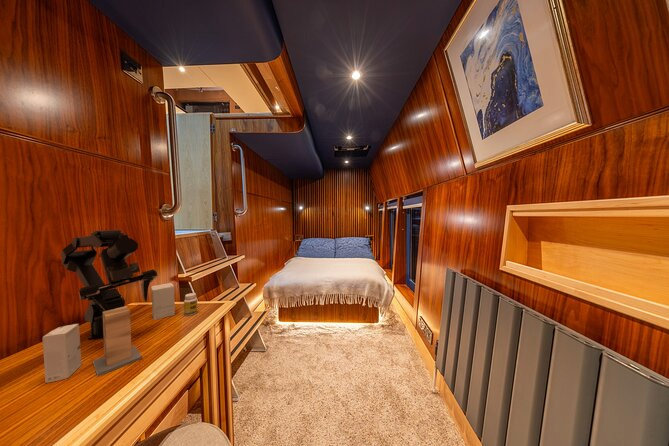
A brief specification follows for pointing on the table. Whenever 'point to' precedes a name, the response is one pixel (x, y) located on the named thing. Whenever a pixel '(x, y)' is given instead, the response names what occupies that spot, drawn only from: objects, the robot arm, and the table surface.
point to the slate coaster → (103, 368)
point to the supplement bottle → (190, 304)
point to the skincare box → (61, 352)
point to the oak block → (117, 335)
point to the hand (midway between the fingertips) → (128, 307)
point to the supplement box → (163, 300)
